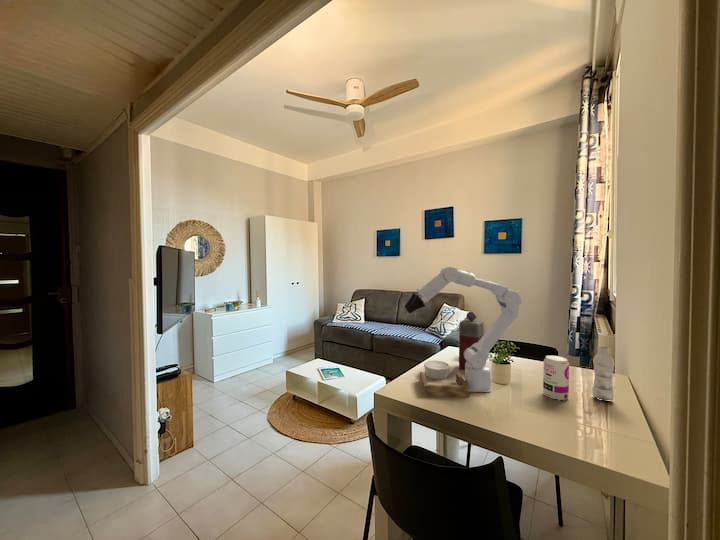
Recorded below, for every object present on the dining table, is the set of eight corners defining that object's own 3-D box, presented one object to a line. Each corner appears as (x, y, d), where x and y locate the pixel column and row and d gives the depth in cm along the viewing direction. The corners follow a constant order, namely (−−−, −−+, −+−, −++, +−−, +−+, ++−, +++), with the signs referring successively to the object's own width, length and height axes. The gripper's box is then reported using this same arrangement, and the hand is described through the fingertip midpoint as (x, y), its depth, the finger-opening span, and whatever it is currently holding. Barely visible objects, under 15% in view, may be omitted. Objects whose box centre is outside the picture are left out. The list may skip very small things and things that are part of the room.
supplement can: (570, 396, 117) (570, 357, 116) (566, 403, 111) (567, 363, 110) (545, 389, 122) (546, 353, 122) (540, 396, 116) (541, 358, 116)
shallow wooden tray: (459, 381, 130) (459, 372, 130) (469, 397, 116) (469, 386, 116) (419, 380, 132) (419, 371, 131) (424, 396, 117) (424, 385, 117)
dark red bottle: (484, 366, 149) (485, 310, 147) (477, 373, 140) (478, 313, 139) (466, 363, 154) (466, 308, 153) (458, 369, 145) (459, 311, 144)
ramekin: (434, 382, 130) (434, 370, 130) (419, 373, 140) (419, 362, 140) (454, 378, 135) (454, 366, 134) (438, 370, 145) (438, 359, 145)
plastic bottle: (610, 397, 115) (611, 346, 114) (616, 405, 109) (618, 351, 108) (589, 394, 118) (590, 344, 117) (594, 402, 112) (596, 348, 111)
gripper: (423, 279, 131) (399, 300, 132) (428, 282, 117) (401, 305, 118) (433, 292, 131) (409, 312, 132) (440, 296, 117) (413, 318, 118)
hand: (406, 309), depth 125 cm, fingers open, 7 cm apart
